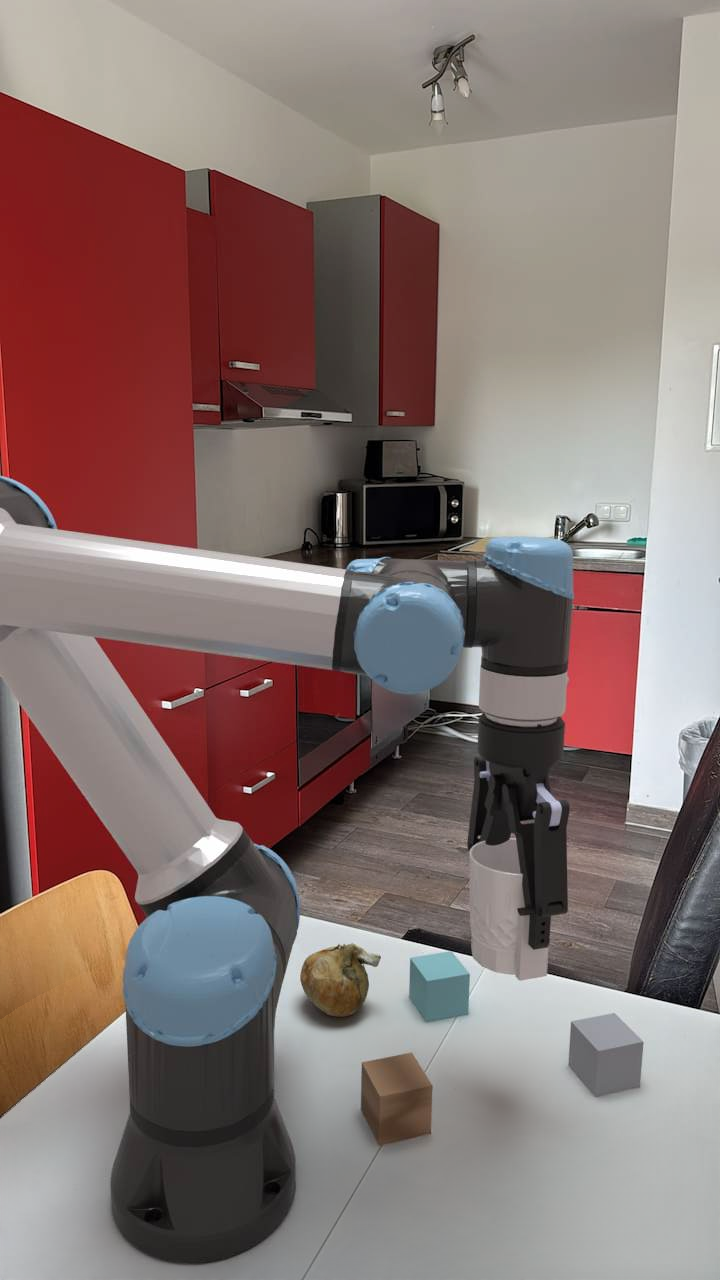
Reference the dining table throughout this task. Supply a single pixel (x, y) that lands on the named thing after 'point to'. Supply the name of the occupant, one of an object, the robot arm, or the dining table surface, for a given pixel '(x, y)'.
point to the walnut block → (396, 1098)
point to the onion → (338, 978)
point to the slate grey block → (605, 1054)
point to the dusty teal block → (439, 986)
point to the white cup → (495, 905)
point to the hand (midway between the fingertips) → (509, 952)
